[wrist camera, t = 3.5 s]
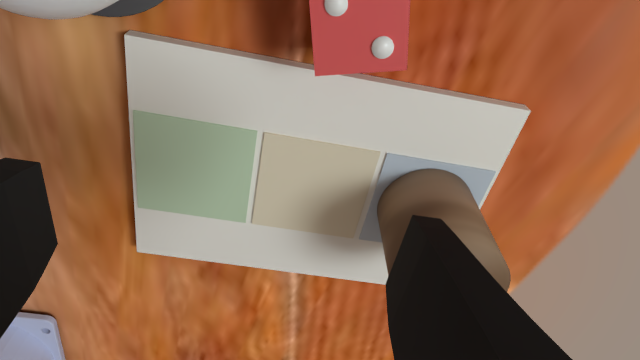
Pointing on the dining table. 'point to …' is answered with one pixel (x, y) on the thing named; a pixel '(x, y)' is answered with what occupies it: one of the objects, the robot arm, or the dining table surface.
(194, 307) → the dining table surface
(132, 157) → the game board
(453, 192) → the pawn
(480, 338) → the robot arm
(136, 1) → the dome base
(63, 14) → the dome
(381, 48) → the red die
